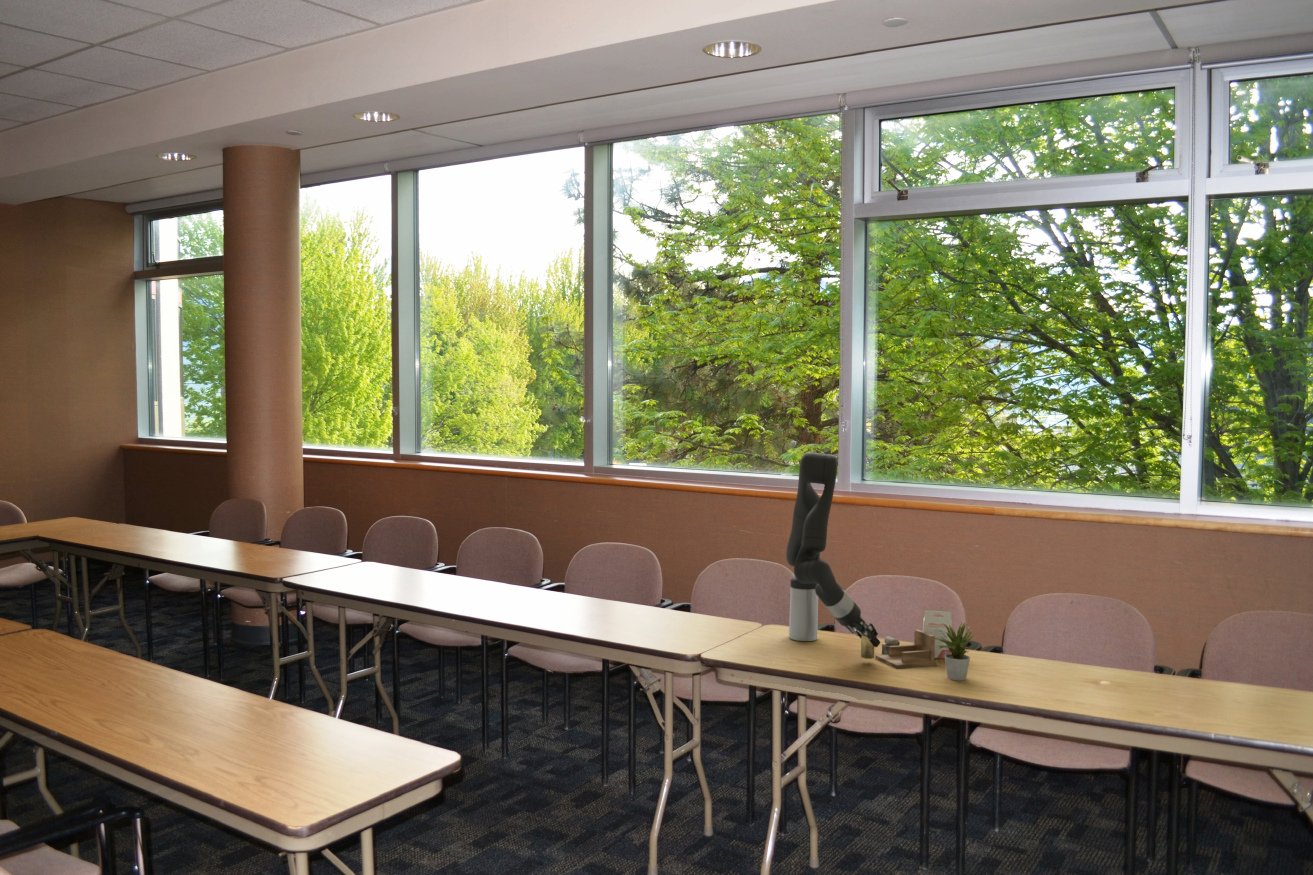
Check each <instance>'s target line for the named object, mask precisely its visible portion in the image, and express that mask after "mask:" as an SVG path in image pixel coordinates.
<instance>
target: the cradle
mask: <svg viewBox="0 0 1313 875" xmlns="http://www.w3.org/2000/svg"><path fill="white" fill-rule="evenodd" d="M933 638H935V636H933V635H931V634H928V633H926V632H923V630H921V629H918V628H917V629H914V642H913V643H914V644H900V641H899V639H896V638H893V637H891V636H889V635H887V636H885V637H884V640H883V641H884V643H883V644H881V654H874V659H876V660H878V661H880V662H882V663H884V664H887V665H888V666H891V667H892V668H895V669H906V668H907V669H908V668H909V669H910V668H917V667H918V668H919V667H930V666H931V667H932V665H934V666H937V665H938V661H935V658H934V653H935V639H933Z"/></svg>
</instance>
